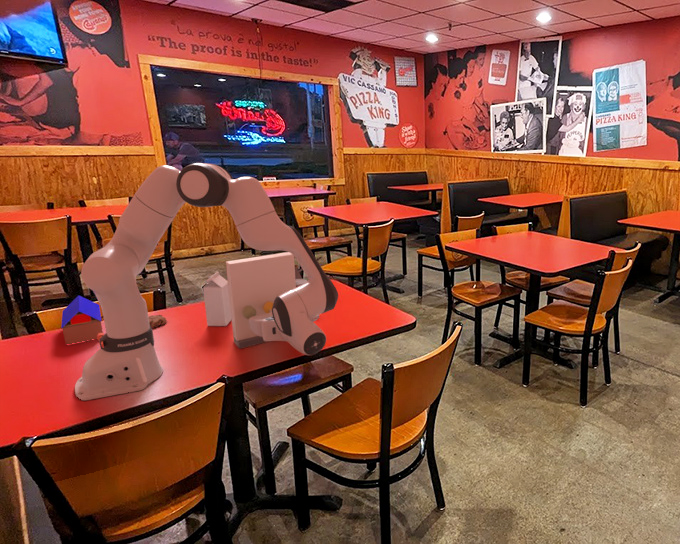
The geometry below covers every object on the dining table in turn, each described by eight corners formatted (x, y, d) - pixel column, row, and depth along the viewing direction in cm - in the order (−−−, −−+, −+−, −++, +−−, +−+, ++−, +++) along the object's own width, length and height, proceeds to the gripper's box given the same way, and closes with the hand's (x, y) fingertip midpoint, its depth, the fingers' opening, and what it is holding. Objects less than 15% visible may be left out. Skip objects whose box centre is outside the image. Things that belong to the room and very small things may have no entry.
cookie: (131, 330, 161) (130, 322, 160) (147, 319, 171) (146, 312, 170) (157, 331, 160) (155, 323, 159) (171, 320, 170) (170, 313, 169)
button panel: (239, 348, 143) (231, 265, 135) (233, 342, 148) (225, 261, 140) (300, 333, 154) (296, 255, 146) (293, 327, 158) (289, 252, 151)
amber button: (265, 316, 143) (264, 304, 142) (262, 313, 145) (261, 302, 144) (277, 313, 145) (276, 302, 144) (274, 311, 147) (273, 299, 146)
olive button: (244, 320, 139) (243, 308, 138) (242, 318, 142) (241, 306, 141) (256, 318, 141) (255, 306, 140) (254, 315, 144) (253, 304, 142)
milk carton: (232, 319, 168) (227, 271, 163) (226, 326, 161) (220, 276, 156) (214, 319, 169) (209, 271, 164) (207, 326, 162) (201, 276, 157)
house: (65, 347, 148) (58, 314, 145) (66, 327, 165) (60, 298, 162) (104, 338, 154) (99, 307, 151) (102, 320, 171) (96, 292, 168)
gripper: (321, 308, 134) (302, 296, 146) (257, 322, 124) (242, 308, 136) (322, 327, 136) (302, 313, 147) (259, 342, 126) (243, 327, 137)
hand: (273, 311), depth 141 cm, fingers closed
